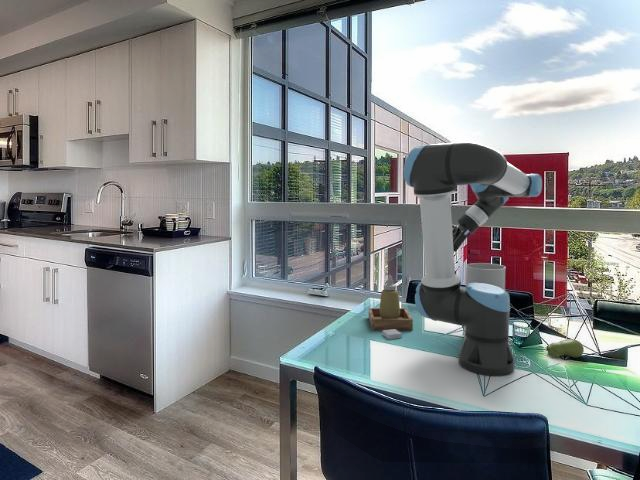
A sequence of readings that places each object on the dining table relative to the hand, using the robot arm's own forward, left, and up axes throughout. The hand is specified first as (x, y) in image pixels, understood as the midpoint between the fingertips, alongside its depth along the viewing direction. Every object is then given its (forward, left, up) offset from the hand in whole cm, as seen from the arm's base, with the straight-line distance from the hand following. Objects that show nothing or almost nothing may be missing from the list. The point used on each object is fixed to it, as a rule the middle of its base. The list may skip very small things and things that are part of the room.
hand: (430, 259), depth 153 cm
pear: (-31, -34, -25) cm, 53 cm away
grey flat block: (-14, +17, -25) cm, 33 cm away
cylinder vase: (-14, -15, -25) cm, 33 cm away
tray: (0, +16, -25) cm, 30 cm away
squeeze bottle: (0, +16, -24) cm, 29 cm away
